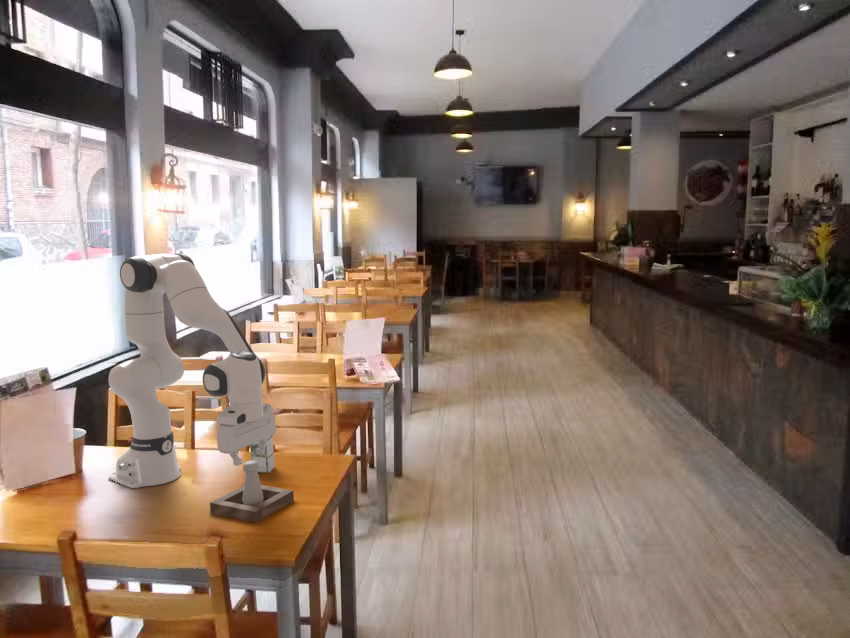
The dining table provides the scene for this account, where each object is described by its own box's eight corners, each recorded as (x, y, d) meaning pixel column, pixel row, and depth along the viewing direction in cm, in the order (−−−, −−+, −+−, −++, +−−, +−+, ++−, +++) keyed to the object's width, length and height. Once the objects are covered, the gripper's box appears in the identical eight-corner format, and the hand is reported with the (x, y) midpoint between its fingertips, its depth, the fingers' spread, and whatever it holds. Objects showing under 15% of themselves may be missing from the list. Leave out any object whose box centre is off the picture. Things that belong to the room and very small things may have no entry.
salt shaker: (258, 511, 187) (255, 465, 186) (239, 510, 189) (236, 465, 187) (267, 503, 193) (264, 458, 191) (248, 502, 194) (246, 458, 193)
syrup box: (275, 467, 223) (272, 423, 221) (268, 473, 217) (265, 429, 215) (258, 466, 224) (255, 423, 222) (251, 473, 218) (248, 428, 216)
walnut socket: (210, 513, 187) (209, 502, 187) (249, 492, 202) (249, 482, 201) (256, 522, 180) (255, 511, 180) (293, 500, 194) (293, 490, 194)
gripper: (262, 400, 198) (265, 447, 200) (211, 418, 180) (214, 469, 182) (280, 402, 195) (282, 449, 197) (229, 421, 177) (233, 472, 179)
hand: (249, 459), depth 189 cm, fingers open, 8 cm apart
